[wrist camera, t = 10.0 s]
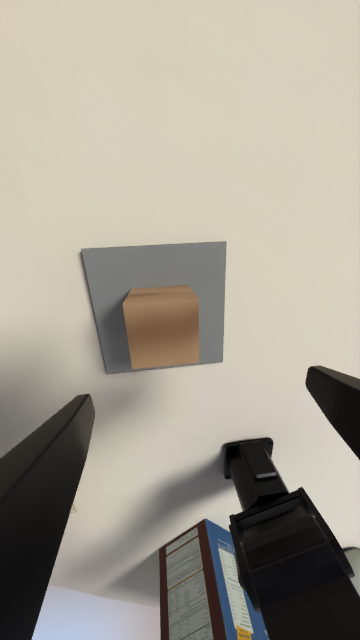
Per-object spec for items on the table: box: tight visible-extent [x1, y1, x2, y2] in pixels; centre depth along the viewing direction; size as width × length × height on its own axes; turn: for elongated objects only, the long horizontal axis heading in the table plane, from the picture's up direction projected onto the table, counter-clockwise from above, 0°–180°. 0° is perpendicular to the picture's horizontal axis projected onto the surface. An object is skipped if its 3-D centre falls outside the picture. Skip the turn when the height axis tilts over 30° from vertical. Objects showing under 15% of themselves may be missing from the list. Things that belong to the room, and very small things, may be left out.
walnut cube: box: [123, 285, 199, 369], centre depth 16 cm, size 5×5×5 cm
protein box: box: [159, 519, 269, 640], centre depth 28 cm, size 10×15×16 cm
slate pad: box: [81, 241, 226, 374], centre depth 19 cm, size 12×12×1 cm
